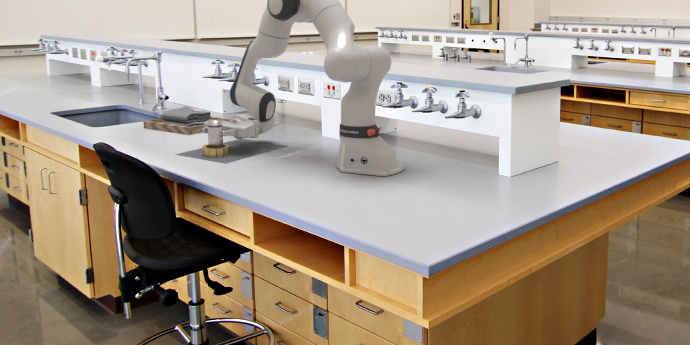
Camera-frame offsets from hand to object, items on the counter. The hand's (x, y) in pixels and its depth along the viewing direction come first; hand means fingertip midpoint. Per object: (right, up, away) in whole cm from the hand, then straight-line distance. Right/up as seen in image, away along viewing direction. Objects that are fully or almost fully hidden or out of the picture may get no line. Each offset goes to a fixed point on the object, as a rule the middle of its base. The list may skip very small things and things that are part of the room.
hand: (213, 132), depth 213 cm
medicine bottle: (+10, +7, +62) cm, 64 cm away
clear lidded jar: (0, -8, +3) cm, 8 cm away
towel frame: (-23, +6, +58) cm, 63 cm away
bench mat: (+5, -6, +10) cm, 13 cm away
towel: (-25, +6, +61) cm, 66 cm away
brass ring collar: (0, -8, +3) cm, 8 cm away
